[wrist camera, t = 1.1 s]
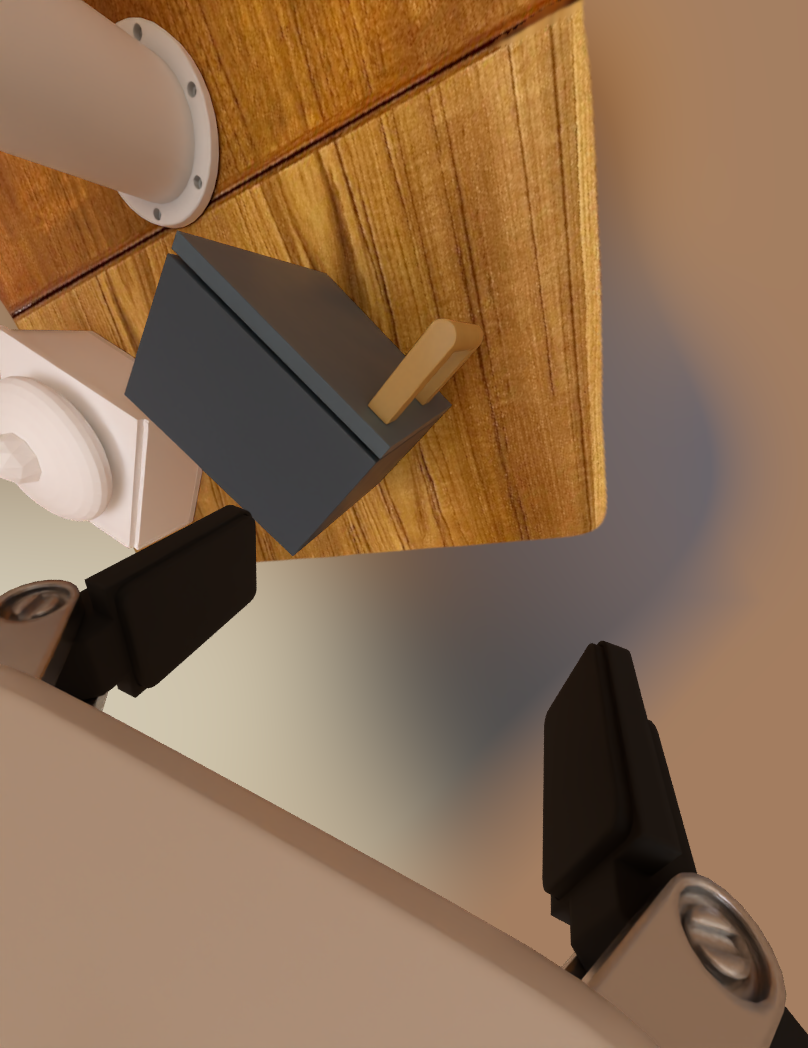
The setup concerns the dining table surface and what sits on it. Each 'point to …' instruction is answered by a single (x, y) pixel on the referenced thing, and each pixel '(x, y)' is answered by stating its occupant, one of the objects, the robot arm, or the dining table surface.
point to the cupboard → (248, 414)
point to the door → (336, 341)
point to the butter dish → (88, 438)
